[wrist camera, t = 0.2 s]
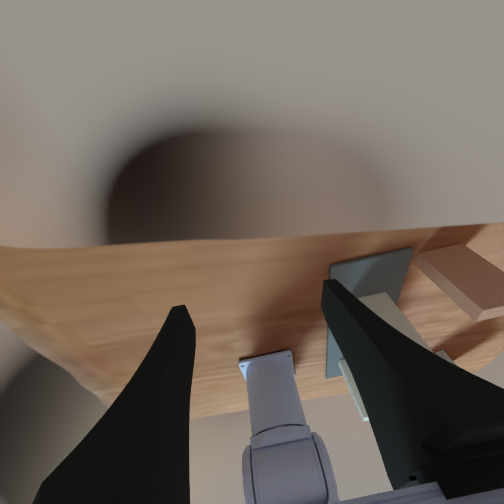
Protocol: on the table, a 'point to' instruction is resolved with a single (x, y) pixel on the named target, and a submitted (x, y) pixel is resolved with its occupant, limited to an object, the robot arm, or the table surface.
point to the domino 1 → (353, 389)
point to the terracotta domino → (465, 279)
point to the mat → (367, 288)
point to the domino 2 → (392, 316)
